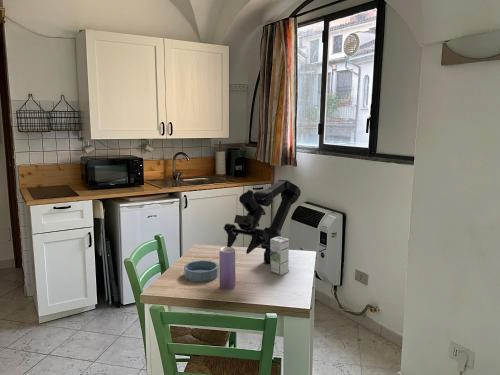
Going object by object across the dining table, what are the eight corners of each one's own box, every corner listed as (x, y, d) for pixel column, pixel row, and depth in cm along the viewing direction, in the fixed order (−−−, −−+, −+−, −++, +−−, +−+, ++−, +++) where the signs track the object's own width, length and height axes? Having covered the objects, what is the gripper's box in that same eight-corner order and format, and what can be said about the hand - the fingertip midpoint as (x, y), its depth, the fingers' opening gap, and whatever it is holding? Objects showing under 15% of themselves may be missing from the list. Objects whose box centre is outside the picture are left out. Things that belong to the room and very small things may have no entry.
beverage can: (229, 291, 150) (229, 252, 148) (216, 288, 153) (216, 250, 151) (238, 286, 155) (238, 248, 153) (225, 283, 158) (225, 246, 156)
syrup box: (289, 271, 170) (289, 238, 168) (280, 275, 166) (280, 241, 164) (278, 268, 174) (278, 235, 172) (269, 272, 170) (269, 238, 167)
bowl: (221, 270, 172) (221, 261, 171) (213, 282, 158) (213, 273, 158) (190, 268, 174) (190, 259, 173) (180, 280, 160) (180, 271, 160)
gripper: (226, 203, 164) (208, 236, 157) (265, 209, 154) (248, 244, 147) (237, 219, 172) (221, 250, 165) (275, 225, 161) (260, 259, 154)
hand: (237, 251), depth 157 cm, fingers open, 9 cm apart
